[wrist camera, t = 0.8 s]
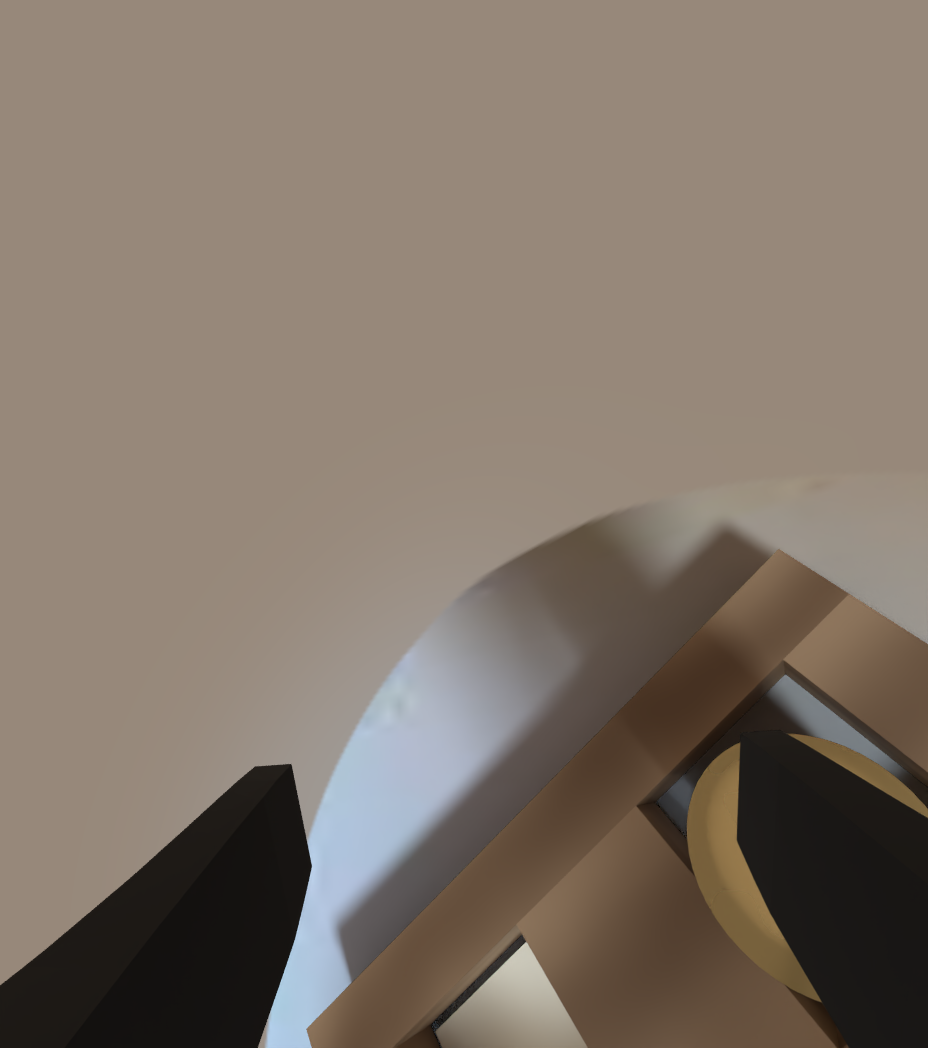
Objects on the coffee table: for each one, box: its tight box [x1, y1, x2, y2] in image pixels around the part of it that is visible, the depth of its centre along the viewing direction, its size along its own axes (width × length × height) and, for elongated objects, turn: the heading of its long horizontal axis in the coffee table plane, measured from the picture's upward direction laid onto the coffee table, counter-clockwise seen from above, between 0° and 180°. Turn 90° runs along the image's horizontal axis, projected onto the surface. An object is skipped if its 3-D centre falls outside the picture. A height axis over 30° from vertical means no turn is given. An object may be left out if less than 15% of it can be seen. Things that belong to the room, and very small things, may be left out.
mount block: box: [307, 549, 928, 1048], centre depth 17 cm, size 12×26×3 cm, turn 129°
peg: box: [687, 734, 928, 1002], centre depth 14 cm, size 4×4×10 cm
